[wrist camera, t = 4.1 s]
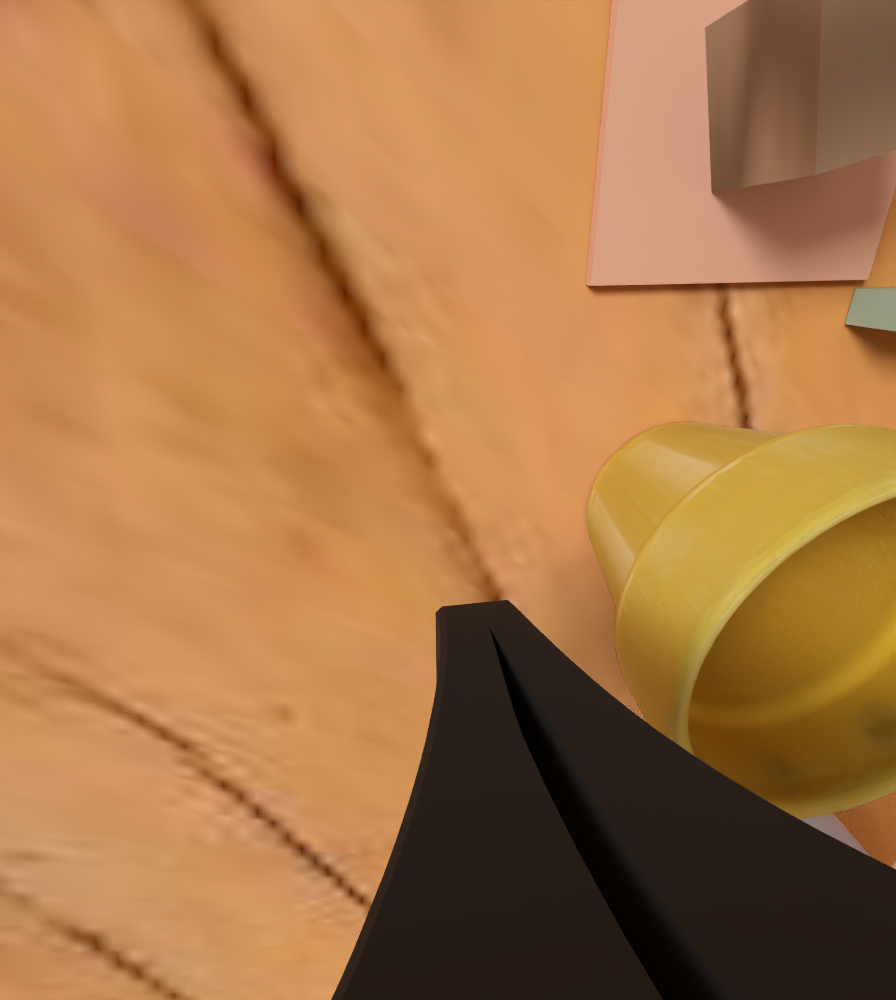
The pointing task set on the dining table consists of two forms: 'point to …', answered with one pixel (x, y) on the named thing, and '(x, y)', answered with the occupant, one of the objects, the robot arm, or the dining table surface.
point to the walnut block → (799, 88)
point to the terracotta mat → (709, 175)
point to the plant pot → (759, 602)
